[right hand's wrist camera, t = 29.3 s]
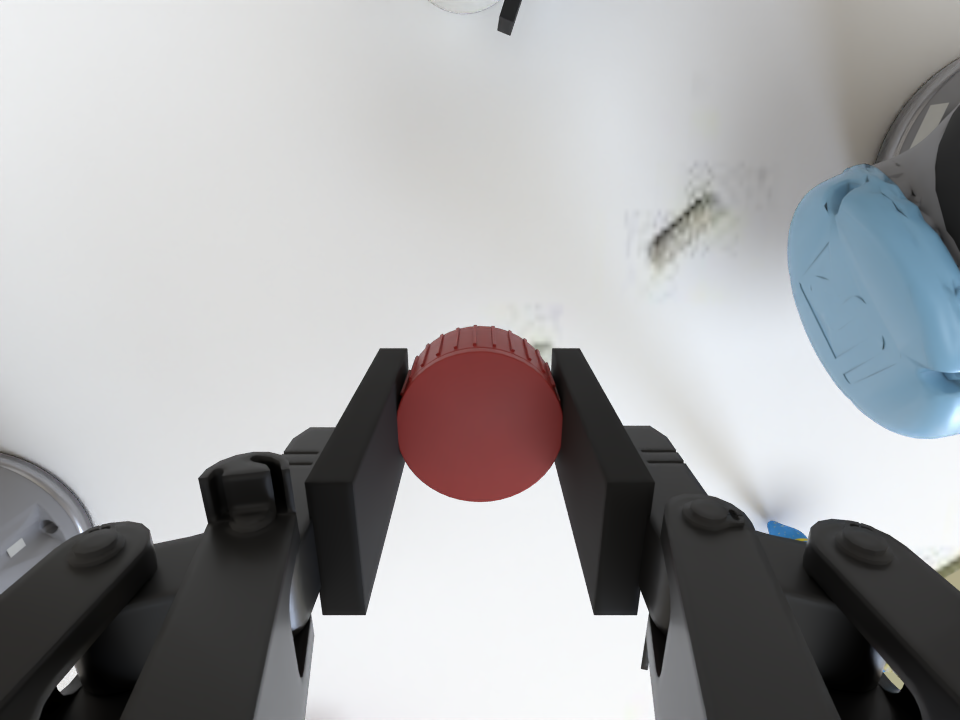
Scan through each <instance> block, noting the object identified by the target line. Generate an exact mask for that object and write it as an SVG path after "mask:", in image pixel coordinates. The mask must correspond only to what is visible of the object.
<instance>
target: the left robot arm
mask: <svg viewBox="0 0 960 720" xmlns="http://www.w3.org/2000/svg"><path fill="white" fill-rule="evenodd" d="M521 1H522V0H504V4H503V7H502V10H501V13H500V16H499V23H498V31H500V32H502V33H505V34H507V35H511V32H512V29H513V26H514V23H515V20H516V17H517V14H518V11H519V7H520V4H521ZM787 253H788V268H789V274H790V279H791V287H792V292H793V296H794V299H795V303H796V306H797V309H798V312H799V315H800V318H801V321H802V324H803V326H804V329H805V331H806V334H807V336H808V338H809V340H810V342H811V345H812V347H813V348H814V350H815V352H816V354H817V356H818V358H819V360H820V361H821V363H822V364H823V366H824V368H825V369H826V371H827V372H828V374H829V375H830V377H831V378H832V380H833V381H834V382H835V384H836V385H837V386H838V388H839V389H840V390H841V391H842V392H843V393H844V395H845V396H846V397H848V398H849V399H850V400H851V401H852V402H853V404H854V405H855V406H856V407H857V408H858V409H859V410H860V411H861V412H862V413H863V414H865V415H866V416H867V417H869V418H870V419H872V420H873V421H874V422H876V423H877V424H879V425H881V426H882V427H884V428H886V429H888V430H890V431H892V432H895V433H897V434H900V435H903V436H907V437H912V438H919V439H935V438H942V437H947V436H952V435H957V434H960V58H959V59H957V60H956V61H954V62H952V63H951V64H949V65H948V66H946V67H945V68H943V69H942V70H941V71H939V72H938V73H937V74H935V75H934V76H933V77H932V78H931V79H930V80H929V81H927V82H926V83H925V84H924V85H923V86H922V87H921V88H920V89H919V90H918V91H917V92H916V93H915V94H914V96H913V97H912V98H911V99H910V100H909V101H908V103H907V104H906V105H905V106H904V108H903V109H902V111H901V112H900V113H899V115H898V116H897V118H896V119H895V121H894V123H893V124H892V126H891V128H890V129H889V131H888V133H887V135H886V137H885V139H884V142H883V144H882V146H881V149H880V151H879V154H878V157H877V160H876V164H874V165H868V164H860V165H856V166H852V167H851V168H847V169H845V170H844V172H843V173H842V174H839V175H837V176H835V177H833V178H831V179H828V180H826V181H824V182H822V183H820V184H819V185H817V186H815V187H814V188H813V189H811V190H810V191H809V192H808V193H807V194H806V195H805V196H804V198H803V199H802V200H801V202H800V203H799V205H798V206H797V208H796V210H795V213H794V216H793V219H792V221H791V225H790V229H789V236H788V248H787Z"/></svg>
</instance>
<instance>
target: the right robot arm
mask: <svg viewBox="0 0 960 720" xmlns="http://www.w3.org/2000/svg"><path fill="white" fill-rule="evenodd" d="M407 373H408V352H407V348H380V349H379V351H378V353H377V355H376V357H375V358H374V360H373V362H372V364H371V365H370V367H369V369H368V371H367V373H366V374H365V376H364V378H363V380H362V381H361V383H360V385H359V387H358V388H357V390H356V392H355V394H354V396H353V397H352V399H351V401H350V403H349V404H348V406H347V408H346V410H345V412H344V413H343V415H342V417H341V419H340V420H339V422H338V424H337V426H336V427H310V428H309V429H307V430H305V431H304V432H302V433H301V434H299V435H298V436H296V437H295V438H293V439H292V441H291V442H290V444H289V445H288V447H287V448H286V450H285V451H284V454H282V455H279V454H275V453H271V452H251V453H245V454H240V455H235V456H233V457H230V458H227V459H224V460H222V461H219V462H218V463H216V464H214V465H213V466H211V467H209V468H208V469H206V470H205V471H204V473H203V474H202V475H201V476H200V477H199V478H198V479H199V484H200V489H201V493H202V498H203V502H204V507H205V511H206V516H207V520H208V525H207V527H206V529H205V532H204V533H202V534H198V535H195V536H191V537H186V538H181V539H176V540H172V541H167V542H162V543H157V544H153V541H152V538H151V534H150V530H149V529H148V528H147V527H145V526H144V525H143V524H141V523H135V522H130V521H126V522H116V523H108V524H103V525H102V526H96V527H93V528H92V525H91V523H90V520H89V518H88V516H87V514H86V512H85V510H84V508H83V507H82V505H81V504H80V502H79V501H78V500H77V498H76V497H75V496H74V495H73V494H72V493H71V492H70V491H69V490H68V489H67V488H66V487H65V486H64V485H63V484H62V483H61V482H60V481H58V480H57V479H56V478H54V477H53V476H52V475H50V474H49V473H47V472H46V471H44V470H43V469H41V468H39V467H37V466H35V465H33V464H31V463H29V462H27V461H25V460H22V459H20V458H17V457H14V456H11V455H7V454H3V453H0V720H305V712H306V704H307V695H308V686H309V677H310V668H311V660H312V651H313V642H314V631H313V624H312V617H311V612H312V610H313V607H314V604H315V602H316V599H317V597H318V594H319V592H320V600H321V607H322V614H323V615H366V612H367V608H368V604H369V600H370V596H371V592H372V588H373V584H374V581H375V577H376V573H377V569H378V565H379V561H380V557H381V553H382V549H383V546H384V542H385V538H386V534H387V530H388V526H389V522H390V518H391V514H392V511H393V507H394V503H395V499H396V495H397V491H398V487H399V483H400V479H401V476H402V472H403V468H404V464H405V460H404V458H403V456H402V454H401V452H400V449H399V442H398V426H397V410H398V407H399V404H400V400H401V398H402V396H401V395H400V393H401V390H402V387H403V385H404V382H405V379H406V376H407ZM551 374H552V376H553V379H554V382H555V385H556V389H557V392H558V395H559V397H560V400H561V402H560V405H561V408H562V412H563V421H562V437H561V448H560V451H559V453H558V455H557V458H556V459H555V465H556V469H557V473H558V477H559V481H560V485H561V489H562V492H563V496H564V500H565V504H566V508H567V512H568V516H569V520H570V524H571V527H572V531H573V535H574V539H575V543H576V547H577V551H578V555H579V559H580V562H581V566H582V570H583V574H584V578H585V582H586V586H587V590H588V594H589V597H590V601H591V605H592V609H593V613H594V615H637V612H638V604H639V597H640V590H641V592H642V595H643V598H644V600H645V603H646V605H647V608H648V611H649V617H648V624H647V630H646V637H645V644H644V651H643V658H642V665H641V669H644V670H648V666H649V667H650V676H651V685H652V694H653V702H654V711H655V720H960V591H959V590H957V589H956V588H955V587H954V586H953V585H952V584H950V583H949V582H948V581H947V580H946V579H944V578H943V577H942V576H941V575H940V574H938V573H937V572H936V571H935V570H934V569H932V568H931V567H930V566H929V565H928V564H927V563H925V562H924V561H923V560H922V559H921V558H919V557H918V556H917V555H916V554H915V553H913V552H912V551H911V550H910V549H909V548H907V547H906V546H905V545H903V544H902V543H900V542H899V541H897V540H896V539H894V538H893V537H891V536H890V535H888V534H886V533H884V532H881V531H879V530H877V529H875V528H873V527H871V526H869V525H866V524H863V523H861V524H860V523H859V522H854V521H849V520H838V519H829V520H823V521H818V522H817V523H816V524H814V525H813V526H812V527H811V529H810V532H809V536H808V540H807V542H804V541H799V540H795V539H790V538H785V537H780V536H775V535H770V534H766V533H762V532H759V531H755V528H754V526H753V524H752V522H751V521H750V520H749V518H748V517H747V516H746V514H745V513H744V512H742V511H741V510H740V509H738V508H737V507H735V506H734V505H733V504H731V503H728V502H726V501H724V500H721V499H719V498H717V497H713V496H708V495H707V493H706V492H705V490H704V489H703V488H702V486H701V485H700V483H699V482H698V481H697V479H696V478H695V476H694V475H693V473H692V472H691V471H690V469H689V468H688V466H687V465H686V463H684V462H683V459H682V458H681V456H680V455H679V454H678V452H676V449H675V448H674V446H673V445H672V444H671V442H670V441H669V439H668V438H667V437H666V436H665V435H663V434H662V433H660V432H658V431H657V430H655V429H654V428H652V427H651V426H623V425H622V423H621V421H620V419H619V417H618V416H617V414H616V412H615V410H614V409H613V407H612V405H611V403H610V402H609V400H608V398H607V396H606V394H605V393H604V391H603V389H602V387H601V386H600V384H599V382H598V380H597V378H596V377H595V375H594V373H593V371H592V370H591V368H590V366H589V364H588V362H587V361H586V359H585V357H584V355H583V354H582V352H581V350H580V348H552V365H551ZM886 663H887V664H888V665H889V666H890V667H891V669H892V670H893V671H894V672H895V673H896V674H897V675H898V677H899V678H900V679H901V680H902V681H903V682H904V685H903V688H902V689H901V690H899V689H898V688H897V687H896V686H895V685H894V684H893V683H892V682H891V681H890V680H889V679H888V678H887V677H886V675H885V674H884V673H883V669H884V667H885V664H886ZM74 665H75V668H76V671H77V673H78V674H77V675H76V677H75V678H74V679H73V680H72V681H71V683H70V684H69V685H68V686H67V687H65V688H64V689H63V690H62V691H61V692H59V691H58V689H57V687H56V686H57V685H58V683H59V682H60V681H61V680H62V679H63V678H64V677H65V675H66V674H67V673H68V672H69V671H70V670H71V668H72V667H73V666H74Z"/></svg>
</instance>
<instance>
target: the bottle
mask: <svg viewBox="0 0 960 720" xmlns="http://www.w3.org/2000/svg"><path fill="white" fill-rule="evenodd" d="M429 1H430V2H431V3H433V4H434V5H436V6H437V7H439V8H441V9H443V10H446V11H449V12H452V13H459V14H469V13H475V12H479V11H482V10H485V9H487V8H489V7H491V6H492V5H494V4H495V3H497V2H498V1H499V0H429Z"/></svg>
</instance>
